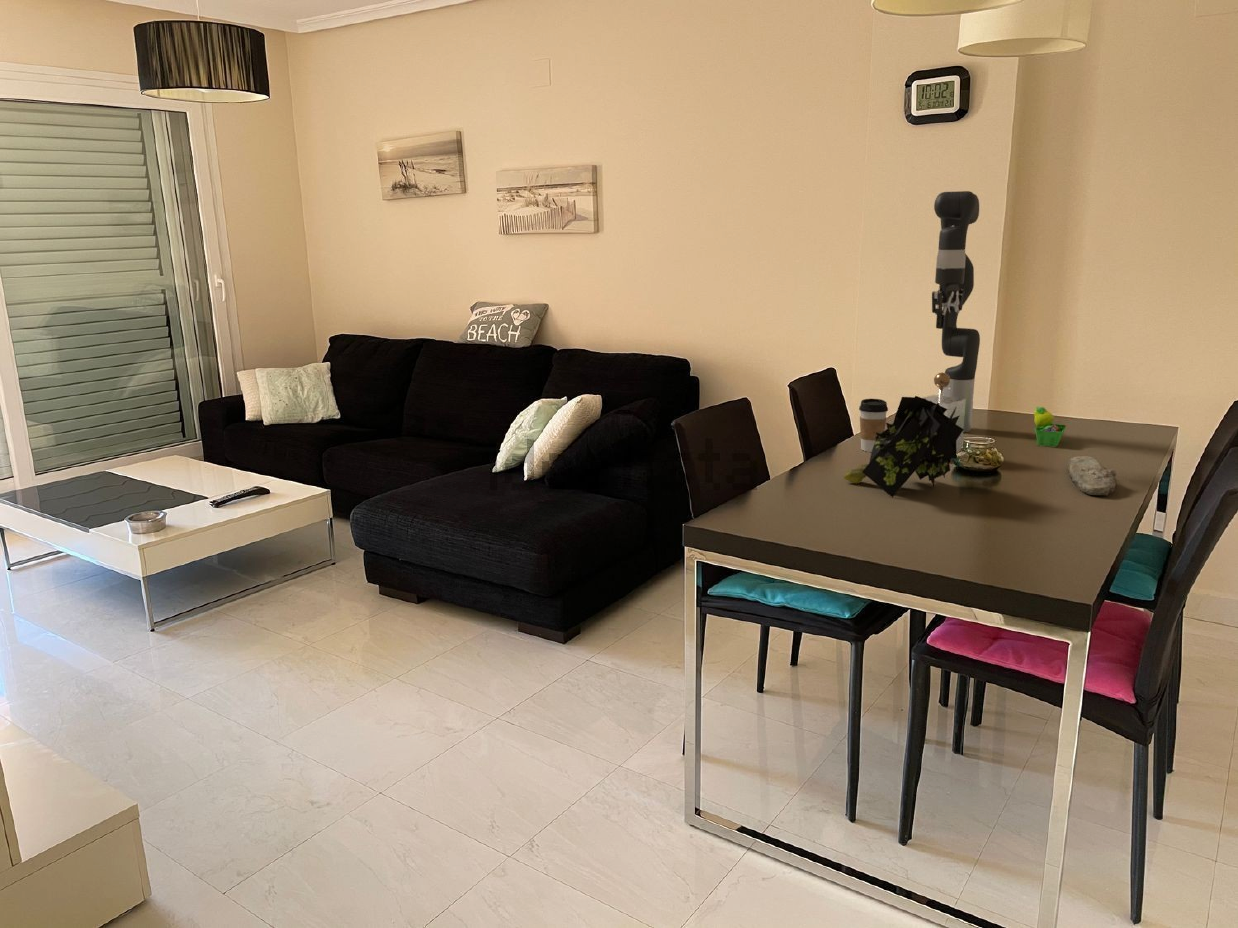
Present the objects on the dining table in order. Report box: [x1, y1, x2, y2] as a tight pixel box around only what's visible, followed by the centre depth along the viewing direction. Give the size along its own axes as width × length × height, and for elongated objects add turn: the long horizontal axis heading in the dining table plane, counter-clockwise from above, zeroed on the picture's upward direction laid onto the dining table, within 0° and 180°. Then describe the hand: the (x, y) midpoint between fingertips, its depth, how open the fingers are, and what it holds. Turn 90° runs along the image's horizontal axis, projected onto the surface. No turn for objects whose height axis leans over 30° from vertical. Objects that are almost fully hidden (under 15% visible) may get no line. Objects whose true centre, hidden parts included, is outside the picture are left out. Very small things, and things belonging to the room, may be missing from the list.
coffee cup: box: [858, 398, 889, 453], centre depth 274 cm, size 8×8×15 cm
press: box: [922, 394, 966, 461], centre depth 265 cm, size 10×10×17 cm
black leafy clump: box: [843, 395, 964, 498], centre depth 232 cm, size 21×22×30 cm
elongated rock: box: [1066, 455, 1117, 497], centre depth 240 cm, size 35×5×10 cm
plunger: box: [933, 372, 950, 400], centre depth 263 cm, size 7×7×22 cm
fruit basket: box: [1033, 406, 1067, 448], centre depth 280 cm, size 11×9×11 cm
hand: (945, 327), depth 257 cm, fingers open, 6 cm apart
